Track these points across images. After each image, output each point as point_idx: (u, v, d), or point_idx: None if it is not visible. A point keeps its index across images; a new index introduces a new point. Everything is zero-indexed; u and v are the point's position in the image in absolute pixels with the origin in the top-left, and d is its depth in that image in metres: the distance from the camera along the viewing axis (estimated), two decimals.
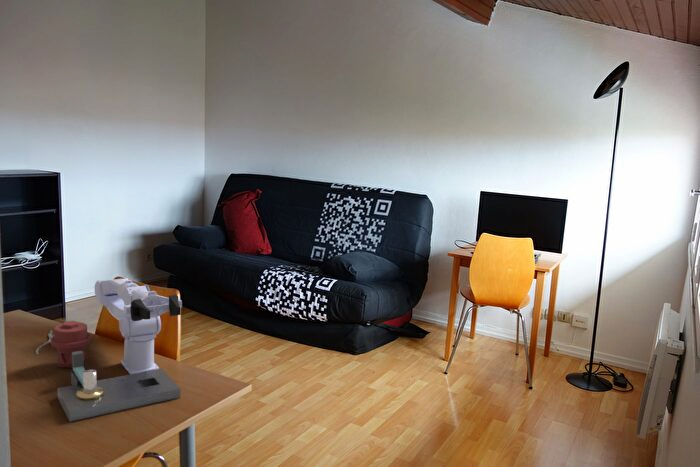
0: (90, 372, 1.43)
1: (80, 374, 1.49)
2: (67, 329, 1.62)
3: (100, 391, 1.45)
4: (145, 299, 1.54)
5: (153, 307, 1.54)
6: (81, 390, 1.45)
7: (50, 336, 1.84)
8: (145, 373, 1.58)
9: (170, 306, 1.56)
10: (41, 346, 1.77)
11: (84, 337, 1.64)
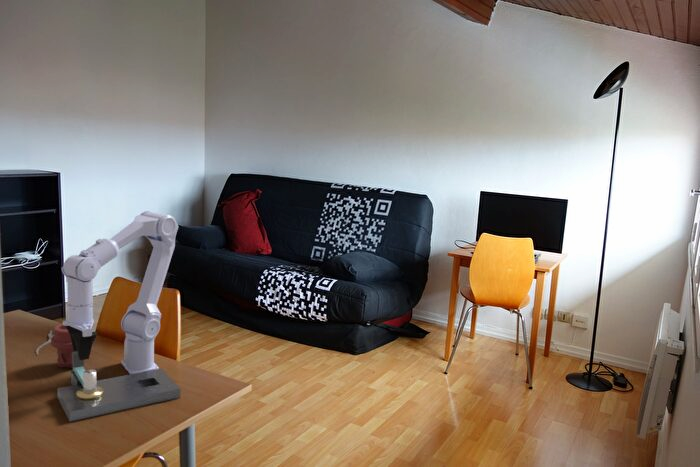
0: (90, 372, 1.43)
1: (80, 374, 1.49)
2: None
3: (100, 391, 1.45)
4: None
5: None
6: (81, 390, 1.45)
7: (50, 336, 1.84)
8: (145, 373, 1.58)
9: None
10: (41, 346, 1.77)
11: None
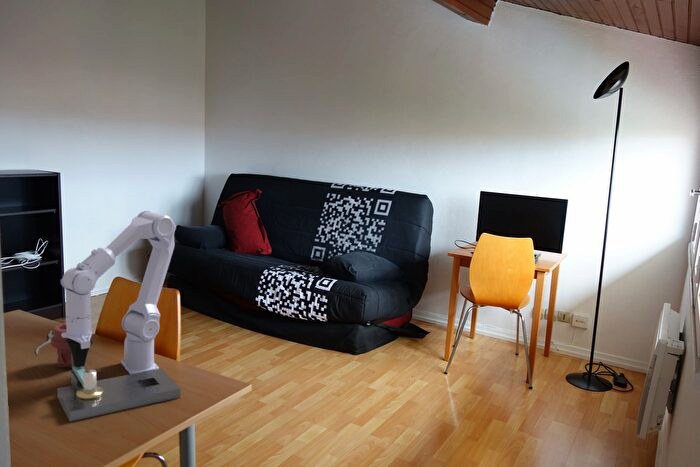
0: (90, 372, 1.43)
1: (79, 373, 1.50)
2: None
3: (100, 391, 1.45)
4: None
5: None
6: (81, 390, 1.45)
7: (50, 336, 1.84)
8: (145, 373, 1.58)
9: None
10: (41, 346, 1.77)
11: None
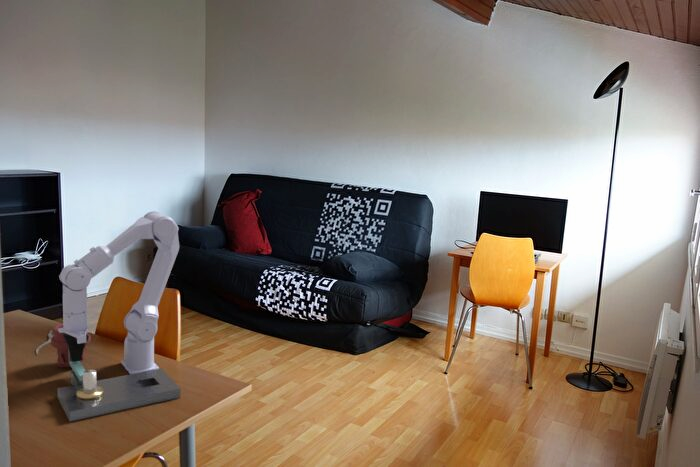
0: (90, 372, 1.43)
1: (76, 368, 1.53)
2: None
3: (100, 391, 1.45)
4: None
5: None
6: (81, 390, 1.45)
7: (50, 336, 1.84)
8: (145, 373, 1.58)
9: None
10: (41, 346, 1.77)
11: None
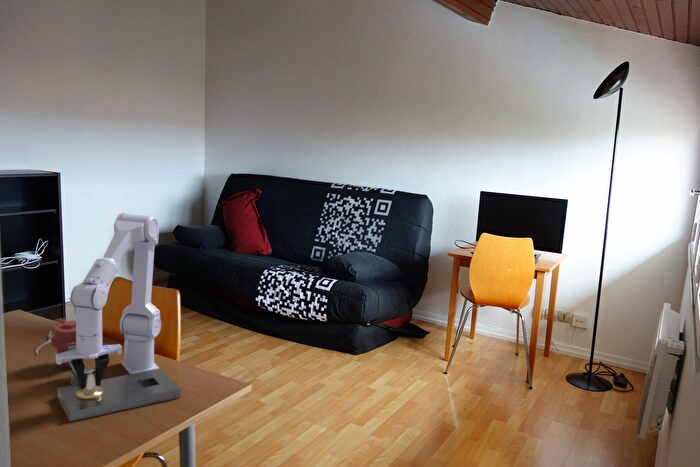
0: (90, 372, 1.43)
1: None
2: (67, 329, 1.62)
3: (100, 391, 1.45)
4: None
5: None
6: (81, 390, 1.45)
7: (50, 336, 1.84)
8: (145, 373, 1.58)
9: (97, 361, 1.44)
10: (41, 346, 1.77)
11: None
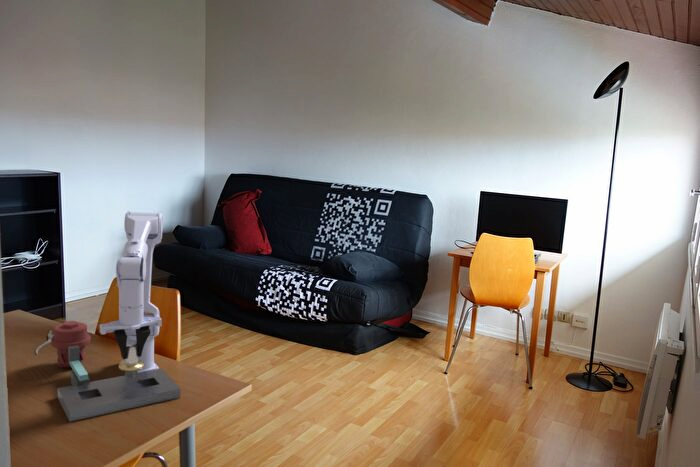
0: (132, 345, 1.48)
1: (76, 368, 1.53)
2: (67, 329, 1.62)
3: (141, 364, 1.50)
4: None
5: None
6: (123, 363, 1.50)
7: (50, 336, 1.84)
8: (145, 373, 1.58)
9: (138, 333, 1.49)
10: (41, 346, 1.77)
11: (84, 337, 1.64)
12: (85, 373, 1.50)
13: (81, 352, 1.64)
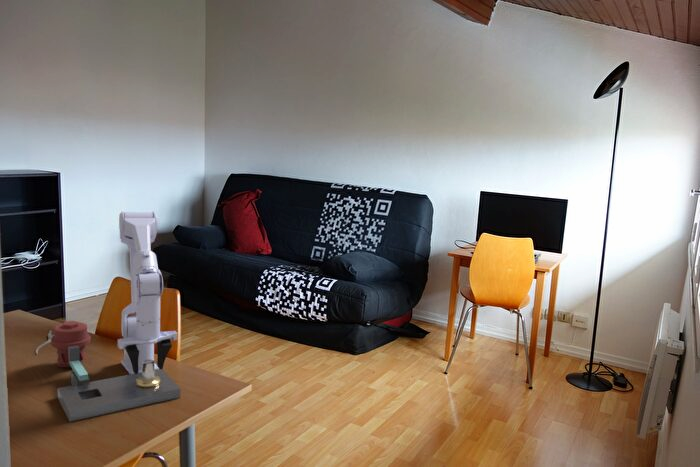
0: (149, 362, 1.52)
1: (76, 368, 1.53)
2: (67, 329, 1.62)
3: (157, 380, 1.53)
4: None
5: None
6: (140, 379, 1.53)
7: (49, 336, 1.84)
8: None
9: (159, 346, 1.53)
10: (41, 346, 1.77)
11: (84, 337, 1.64)
12: (85, 373, 1.50)
13: (81, 352, 1.64)
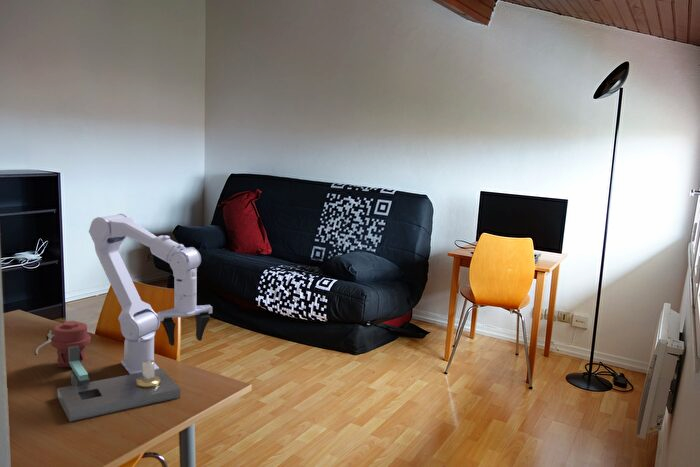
0: (149, 362, 1.52)
1: (76, 368, 1.53)
2: (67, 329, 1.62)
3: (157, 380, 1.53)
4: None
5: None
6: (140, 379, 1.53)
7: (49, 336, 1.84)
8: None
9: (198, 318, 1.62)
10: (40, 346, 1.77)
11: (84, 337, 1.64)
12: (85, 373, 1.50)
13: (81, 352, 1.64)
